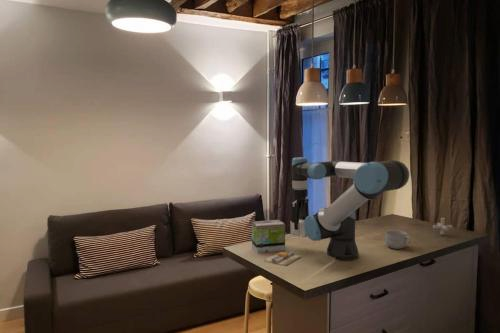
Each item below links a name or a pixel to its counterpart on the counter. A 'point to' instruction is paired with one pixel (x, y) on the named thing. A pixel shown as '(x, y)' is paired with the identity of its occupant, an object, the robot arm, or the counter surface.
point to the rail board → (283, 258)
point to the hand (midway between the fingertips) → (300, 234)
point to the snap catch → (283, 254)
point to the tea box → (268, 236)
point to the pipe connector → (442, 226)
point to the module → (302, 229)
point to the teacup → (396, 239)
